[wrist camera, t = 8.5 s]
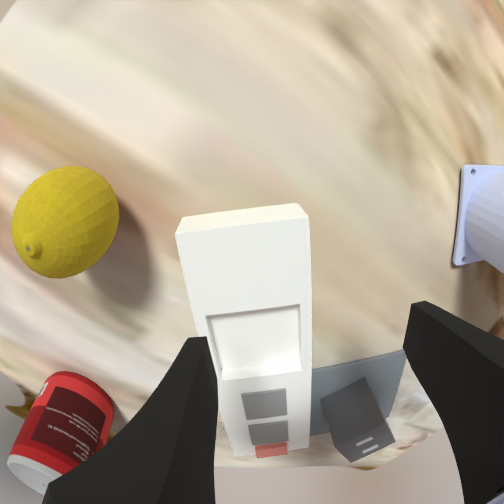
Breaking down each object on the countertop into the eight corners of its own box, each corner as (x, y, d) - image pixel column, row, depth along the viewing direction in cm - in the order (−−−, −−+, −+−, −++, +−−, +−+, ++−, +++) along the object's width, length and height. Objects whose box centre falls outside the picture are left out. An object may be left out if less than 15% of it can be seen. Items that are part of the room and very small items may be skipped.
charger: (364, 376, 25) (386, 423, 20) (376, 399, 27) (396, 442, 21) (320, 398, 26) (335, 447, 20) (336, 418, 27) (350, 463, 22)
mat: (406, 348, 25) (407, 351, 24) (387, 414, 29) (388, 416, 28) (297, 371, 24) (298, 375, 24) (298, 434, 28) (299, 437, 28)
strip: (182, 217, 19) (173, 237, 16) (297, 202, 19) (311, 220, 16) (237, 446, 29) (239, 473, 26) (303, 438, 29) (308, 464, 26)
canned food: (61, 414, 26) (32, 492, 16) (36, 362, 23) (-11, 448, 13) (123, 426, 27) (103, 515, 17) (104, 374, 24) (68, 479, 14)
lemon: (153, 200, 18) (106, 252, 11) (101, 257, 19) (47, 326, 12) (93, 138, 16) (16, 155, 9) (47, 201, 18) (-28, 246, 10)
